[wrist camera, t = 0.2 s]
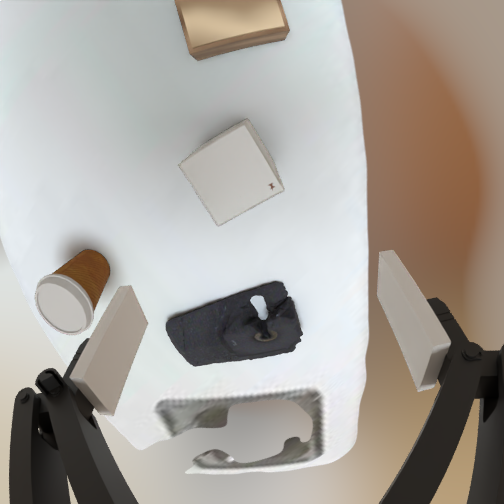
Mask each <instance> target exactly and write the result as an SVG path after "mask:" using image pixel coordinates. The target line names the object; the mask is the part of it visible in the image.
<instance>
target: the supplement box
mask: <svg viewBox="0 0 504 504" xmlns="http://www.w3.org/2000/svg"><path fill="white" fill-rule="evenodd" d="M178 166H179V167H180V169H181V170H182V172H183V173H184V175H185V176H186V178H187V179H188V181H189V182H190V184H191V185H192V187H193V189H194V190H195V192H196V193H197V195H198V197H199V198H200V200H201V201H202V203H203V205H204V206H205V208H206V209H207V211H208V213H209V214H210V216H211V217H212V219H213V220H214V222H215V224H216V225H217V226H221V225H223V224H224V223H226V222H228V221H230V220H231V219H233V218H235V217H237V216H239V215H240V214H242V213H244V212H246V211H248V210H250V209H252V208H254V207H255V206H257V205H259V204H260V203H262V202H264V201H266V200H268V199H270V198H271V197H273V196H275V195H277V194H279V193H281V192H283V191H284V187H283V184H282V181H281V179H280V176H279V173H278V171H277V168H276V166H275V164H274V162H273V160H272V158H271V156H270V154H269V153H268V151H267V149H266V147H265V146H264V144H263V142H262V140H261V139H260V137H259V135H258V134H257V132H256V131H255V129H254V128H253V126H252V124H251V123H250V121H249V120H248V119H245V120H244V121H242V122H240V123H238V124H237V125H235V126H233V127H231V128H230V129H228V130H226V131H224V132H223V133H221V134H219V135H218V136H216V137H214V138H213V139H211V140H210V141H208V142H206V143H205V144H203V145H202V146H200V147H199V148H197V149H196V150H195V151H194V152H192V153H191V154H190V155H189V156H188V157H187V158H185V159H184V160H183V161H182V162H181V163H180V164H178Z"/></svg>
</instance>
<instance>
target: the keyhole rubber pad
mask: <svg viewBox="0 0 504 504" xmlns="http://www.w3.org/2000/svg"><path fill="white" fill-rule="evenodd" d="M255 295H257V296H263V297H264V300H265V302H266V305H267V306H266V308H267V310H269V311H270V312H269V315H268V318H267V319H266V320H260V319H259V317H258V312H257V311H256V309H255V307H254V306H253V305H252V303H251V302H250V299H251V297H252V296H255ZM287 295H288V292H287V291H285V287H284V286H283V283H279V282H274V283H270V284H269V285H265V286H261V287H260V288H256V289H253V290H250V291H247V292H242V293H239V294H237V295H233V296H231V297H229V298H225V299H223V300H222V301H218V302H217V303H214V304H212V305H208V306H205V307H203V308H201V309H197V310H195V311H193V312H190V313H187V314H186V315H183V316H180V317H176V318H173V319H171V320H169V321H168V322H166V331H167V333H168V336H169V338H170V339H171V342H172V343H173V345H174V346H175V348H176V349H177V350H178V352H179V353H180V354H181V355H182V356H183V357H184V358H185V359H186V360H187V362H188V363H190V364H192V365H193V366H201V365H208V364H212V363H224V362H231V361H242V360H247V359H249V360H252V359H257V358H264V357H267V356H275V355H278V354H282V353H288V352H293V351H294V350H295V348H296V347H295V345H296V344H297V343H299V342H301V339H300V336H302V335H303V332H302V331H301V328H300V323H299V320H298V316H297V312H296V309H295V306H294V302H293V301H292V300H291V297H287ZM285 298H286V299H285Z"/></svg>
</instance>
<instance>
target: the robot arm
mask: <svg viewBox="0 0 504 504" xmlns="http://www.w3.org/2000/svg"><path fill="white" fill-rule="evenodd" d="M377 297H378V299H379V301H380V303H381V305H382V307H383V309H384V312H385V314H386V316H387V318H388V320H389V323H390V325H391V327H392V330H393V332H394V334H395V336H396V339H397V341H398V343H399V346H400V348H401V350H402V353H403V355H404V358H405V360H406V363H407V365H408V367H409V370H410V372H411V375H412V378H413V380H414V383H415V385H416V388H417V391H418V392H420V391H423V390H427V389H430V388H434V386H435V384H436V382H437V379H438V380H439V383H440V385H441V387H440V390H439V392H438V394H437V396H436V398H435V402H434V404H433V406H432V409H431V411H430V413H429V415H428V417H427V419H426V422H425V424H424V426H423V428H422V430H421V432H420V434H419V436H418V438H417V440H416V442H415V444H414V446H413V448H412V450H411V452H410V453H409V455H408V457H407V458H406V460H405V462H404V464H403V466H402V467H401V469H400V471H399V472H398V474H397V476H396V477H395V479H394V481H393V482H392V484H391V485H390V487H389V489H388V490H387V492H386V493H385V495H384V496H383V498H382V499H381V501H380V502H379V504H430V502H431V500H432V498H433V497H434V495H435V493H436V491H437V489H438V487H439V485H440V483H441V481H442V479H443V477H444V475H445V473H446V471H447V468H448V466H449V464H450V462H451V460H452V457H453V455H454V453H455V450H456V448H457V445H458V443H459V440H460V437H461V435H462V433H463V430H464V427H465V424H466V422H467V419H468V416H469V413H470V410H471V407H472V404H473V401H474V399H480V410H479V426H478V437H477V447H476V455H475V462H474V469H473V475H472V481H471V486H470V491H469V496H468V500H467V504H504V345H503V346H502V348H501V350H500V351H484V350H483V349H482V348H481V347H480V346H479V345H478V344H476V343H474V342H469V341H468V339H467V337H466V336H465V334H464V332H463V331H462V329H461V328H460V326H459V324H458V323H457V321H456V320H455V319H454V317H453V315H452V314H451V313H450V310H449V309H448V307H447V306H446V304H445V303H444V302H442V301H440V300H439V299H438V298H432V299H427V300H426V299H425V297H424V295H423V294H422V293H421V291H420V289H419V288H418V286H417V285H416V283H415V281H414V280H413V279H412V277H411V275H410V274H409V272H408V271H407V270H406V268H405V267H404V265H403V264H402V262H401V261H400V259H399V258H398V256H397V255H396V253H395V252H394V251H393V250H390V251H383V252H379V271H378V288H377ZM147 325H148V322H147V320H146V317H145V315H144V313H143V311H142V309H141V307H140V304H139V302H138V300H137V298H136V295H135V293H134V291H133V289H132V286H131V285H130V286H121V287H119V288H118V290H117V292H116V293H115V295H114V297H113V299H112V300H111V302H110V304H109V305H108V307H107V309H106V310H105V312H104V314H103V316H102V317H101V319H100V321H99V323H98V325H97V326H96V328H95V330H94V332H93V334H92V335H91V337H90V338H87V339H86V340H85V341H84V342H83V343H82V344H81V345H80V346H79V348H78V350H77V352H76V354H75V355H74V357H73V360H72V361H71V363H70V365H69V367H68V369H67V371H66V373H65V374H64V376H63V378H62V377H61V376H60V374H59V373H58V372H57V371H56V370H55V369H53V368H48V369H46V370H44V371H43V372H41V373H40V374H39V375H38V377H37V379H36V383H35V385H36V386H37V387H38V388H39V389H40V391H41V392H42V393H39V394H36V393H35V392H34V390H33V389H32V388H29V387H28V388H24V389H22V390H21V391H19V393H18V394H17V396H16V398H15V403H14V411H13V420H12V429H11V442H10V463H9V494H10V504H71V503H70V496H69V489H68V481H67V476H68V479H69V482H70V484H71V487H72V489H73V492H74V495H75V497H76V499H77V502H78V504H138V502H137V500H136V499H135V497H134V495H133V493H132V492H131V490H130V488H129V486H128V485H127V483H126V481H125V479H124V477H123V475H122V473H121V472H120V470H119V468H118V466H117V464H116V462H115V460H114V458H113V456H112V454H111V452H110V450H109V447H108V445H107V443H106V441H105V439H104V437H103V435H102V432H101V430H100V428H99V426H98V423H97V421H96V418H95V417H94V415H93V414H92V411H93V409H94V408H95V409H96V410H97V411H98V413H99V414H101V415H107V416H114V413H115V410H116V407H117V404H118V401H119V398H120V396H121V393H122V390H123V387H124V385H125V382H126V379H127V376H128V374H129V371H130V368H131V366H132V363H133V361H134V358H135V355H136V353H137V350H138V348H139V345H140V343H141V340H142V338H143V335H144V333H145V330H146V328H147ZM38 428H39V430H38Z"/></svg>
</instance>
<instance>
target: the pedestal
mask: <svg viewBox="0 0 504 504" xmlns="http://www.w3.org/2000/svg"><path fill="white" fill-rule="evenodd" d="M175 4H176V7H177V11H178V14H179V18H180V21H181V25H182V28H183V32H184V35H185V39H186V42H187V46H188V50H189V53H190V55H192V56H193V57H194V58H195V59H196V60H198V61H199V60H202V59H206V58H209V57H213V56H216V55H220V54H223V53H227V52H231V51H235V50H239V49H243V48H248V47H252V46H257V45H261V44H266V43H271V42H277V41H282V40H285V38H286V36H287V35H288V33H289V31H290V29H289V26H288V23H287V19H286V16H285V13H284V10H283V7H282V4H281V1H280V0H175Z"/></svg>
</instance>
